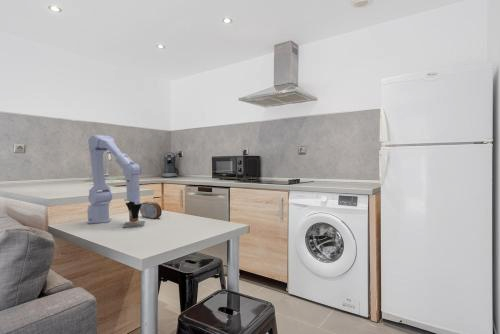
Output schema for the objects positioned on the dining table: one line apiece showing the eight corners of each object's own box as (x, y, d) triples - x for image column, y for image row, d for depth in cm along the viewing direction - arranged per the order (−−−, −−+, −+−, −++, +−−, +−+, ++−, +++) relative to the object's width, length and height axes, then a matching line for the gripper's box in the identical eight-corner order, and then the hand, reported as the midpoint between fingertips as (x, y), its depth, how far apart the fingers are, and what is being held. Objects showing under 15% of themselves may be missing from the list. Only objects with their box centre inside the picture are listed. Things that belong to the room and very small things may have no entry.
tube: (130, 222, 132) (130, 211, 131) (128, 220, 135) (128, 210, 135) (139, 220, 134) (138, 210, 134) (137, 219, 137) (136, 209, 137)
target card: (122, 228, 128) (122, 226, 128) (125, 223, 138) (125, 221, 138) (143, 226, 131) (143, 224, 131) (144, 221, 141) (144, 220, 140)
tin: (162, 218, 148) (161, 202, 148) (157, 219, 145) (157, 203, 145) (143, 216, 156) (143, 200, 156) (139, 217, 153) (138, 201, 153)
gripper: (120, 188, 137) (121, 216, 138) (127, 191, 126) (128, 221, 126) (135, 187, 142) (136, 214, 142) (143, 190, 130) (144, 219, 130)
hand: (134, 217), depth 134 cm, fingers closed on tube, 4 cm apart
